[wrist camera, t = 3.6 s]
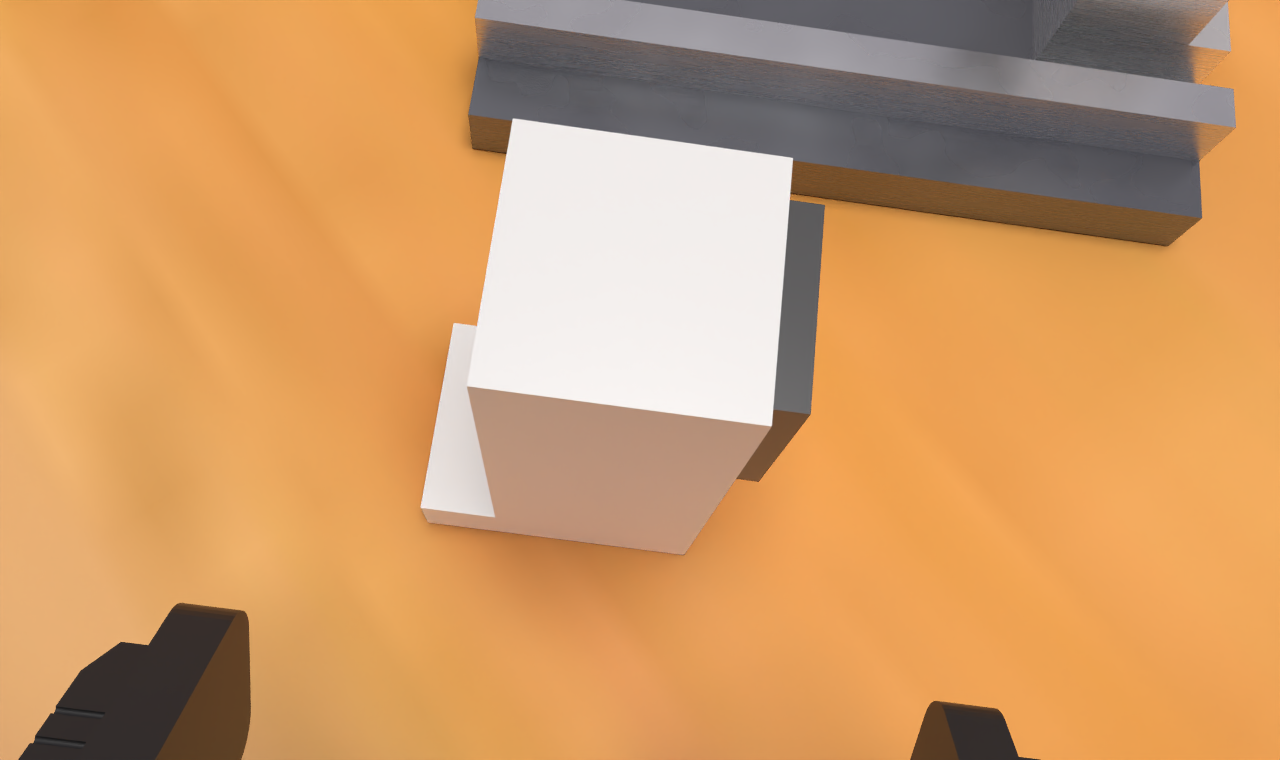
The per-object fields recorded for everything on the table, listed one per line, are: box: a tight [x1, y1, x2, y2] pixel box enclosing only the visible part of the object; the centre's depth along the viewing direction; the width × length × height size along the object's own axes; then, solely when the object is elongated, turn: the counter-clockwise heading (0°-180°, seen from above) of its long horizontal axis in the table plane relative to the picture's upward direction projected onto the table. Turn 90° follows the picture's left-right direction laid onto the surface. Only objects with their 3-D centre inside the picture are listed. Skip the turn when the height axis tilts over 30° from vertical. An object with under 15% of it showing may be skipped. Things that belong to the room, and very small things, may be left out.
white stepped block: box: [421, 118, 825, 555], centre depth 20 cm, size 6×4×10 cm, turn 84°
